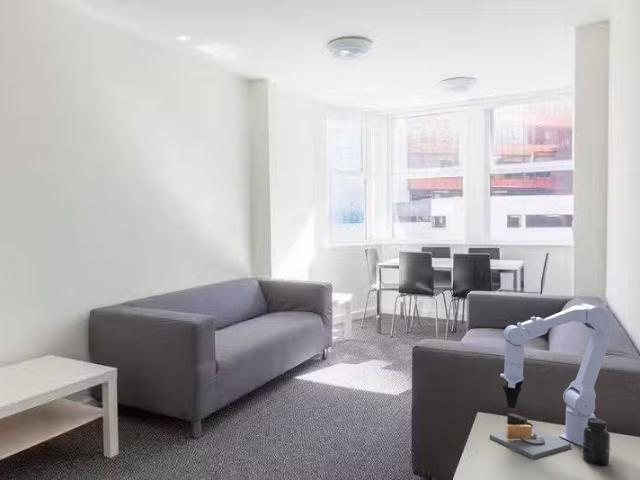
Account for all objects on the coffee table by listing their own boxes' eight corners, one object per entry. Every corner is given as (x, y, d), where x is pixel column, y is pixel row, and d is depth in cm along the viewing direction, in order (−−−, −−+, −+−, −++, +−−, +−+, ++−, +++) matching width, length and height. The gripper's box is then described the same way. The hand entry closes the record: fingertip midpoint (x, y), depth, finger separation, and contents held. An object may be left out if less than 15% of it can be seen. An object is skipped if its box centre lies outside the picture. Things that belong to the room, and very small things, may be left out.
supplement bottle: (613, 468, 136) (614, 426, 136) (587, 465, 137) (588, 423, 137) (603, 457, 142) (605, 417, 142) (579, 454, 144) (580, 415, 144)
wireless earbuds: (525, 430, 162) (526, 420, 162) (506, 423, 168) (506, 414, 168) (532, 427, 165) (533, 418, 165) (513, 420, 170) (514, 411, 170)
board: (526, 428, 163) (526, 424, 163) (570, 447, 149) (571, 442, 149) (489, 438, 154) (489, 433, 154) (532, 458, 140) (533, 453, 140)
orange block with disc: (537, 434, 154) (537, 421, 154) (549, 444, 147) (549, 430, 147) (502, 434, 153) (502, 421, 153) (512, 444, 146) (512, 430, 146)
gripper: (503, 356, 165) (501, 395, 165) (498, 365, 152) (497, 408, 152) (525, 359, 162) (523, 399, 162) (522, 369, 149) (521, 412, 149)
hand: (512, 403), depth 157 cm, fingers open, 7 cm apart
